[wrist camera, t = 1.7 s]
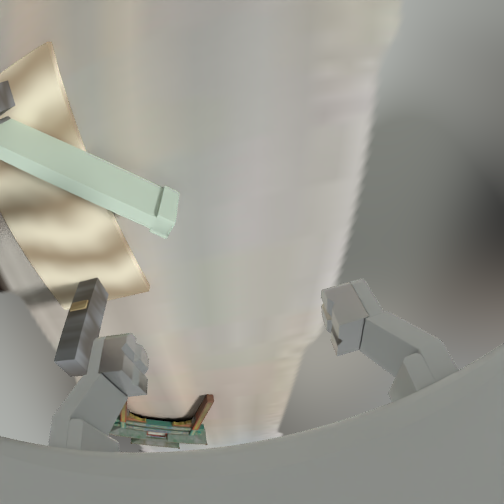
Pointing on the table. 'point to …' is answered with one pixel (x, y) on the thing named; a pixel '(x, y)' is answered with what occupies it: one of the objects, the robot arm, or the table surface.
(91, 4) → the table surface
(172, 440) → the miniature gate
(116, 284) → the base
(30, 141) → the gate panel
